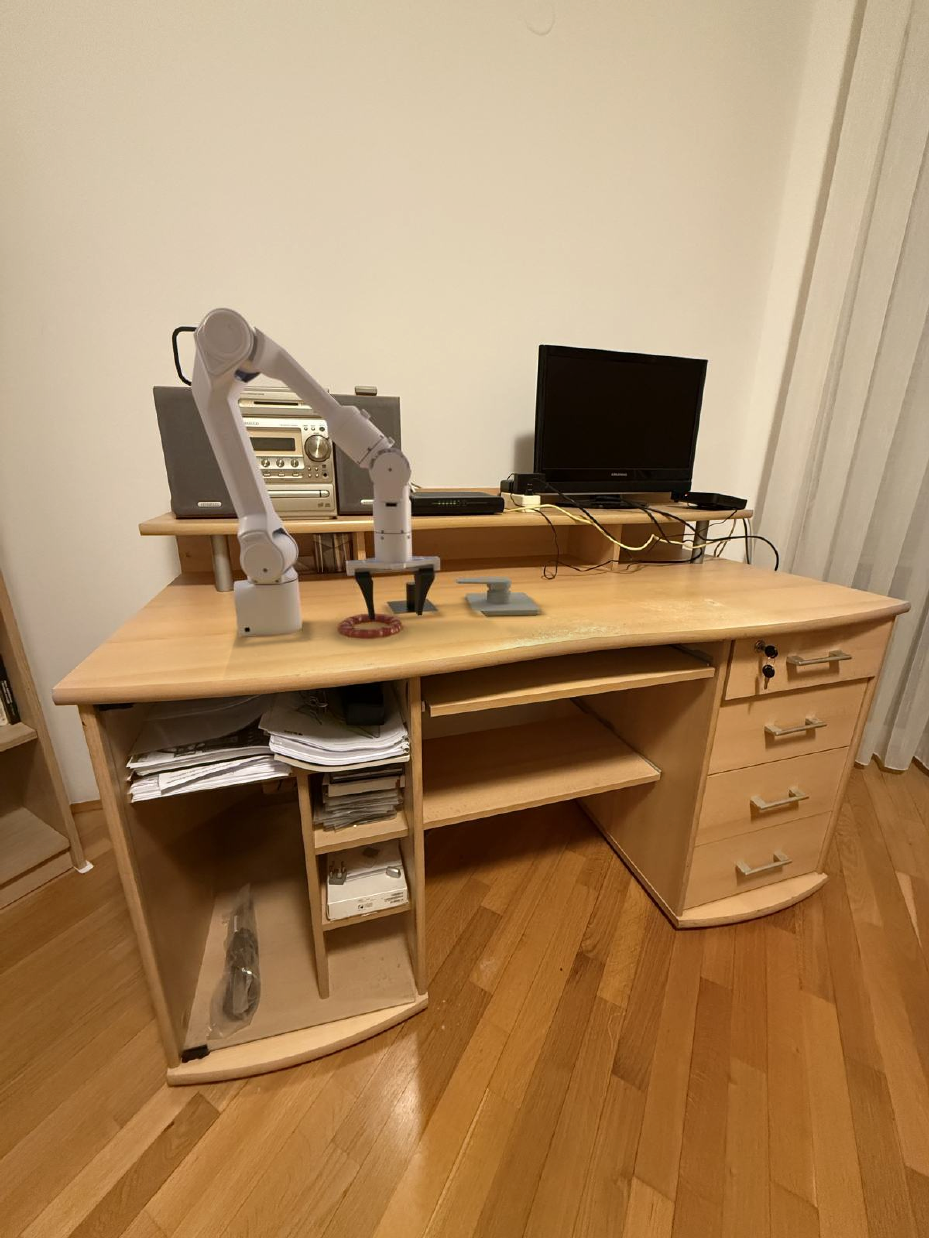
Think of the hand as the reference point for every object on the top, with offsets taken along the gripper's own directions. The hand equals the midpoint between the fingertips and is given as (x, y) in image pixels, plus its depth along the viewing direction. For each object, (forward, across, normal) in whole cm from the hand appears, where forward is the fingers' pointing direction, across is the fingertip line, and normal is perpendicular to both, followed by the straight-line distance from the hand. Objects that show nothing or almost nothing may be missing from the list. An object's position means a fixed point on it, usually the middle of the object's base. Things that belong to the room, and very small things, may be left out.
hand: (395, 615), depth 79 cm
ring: (+2, -4, 0) cm, 4 cm away
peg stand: (+3, +5, +10) cm, 11 cm away
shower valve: (+3, +21, +9) cm, 23 cm away
